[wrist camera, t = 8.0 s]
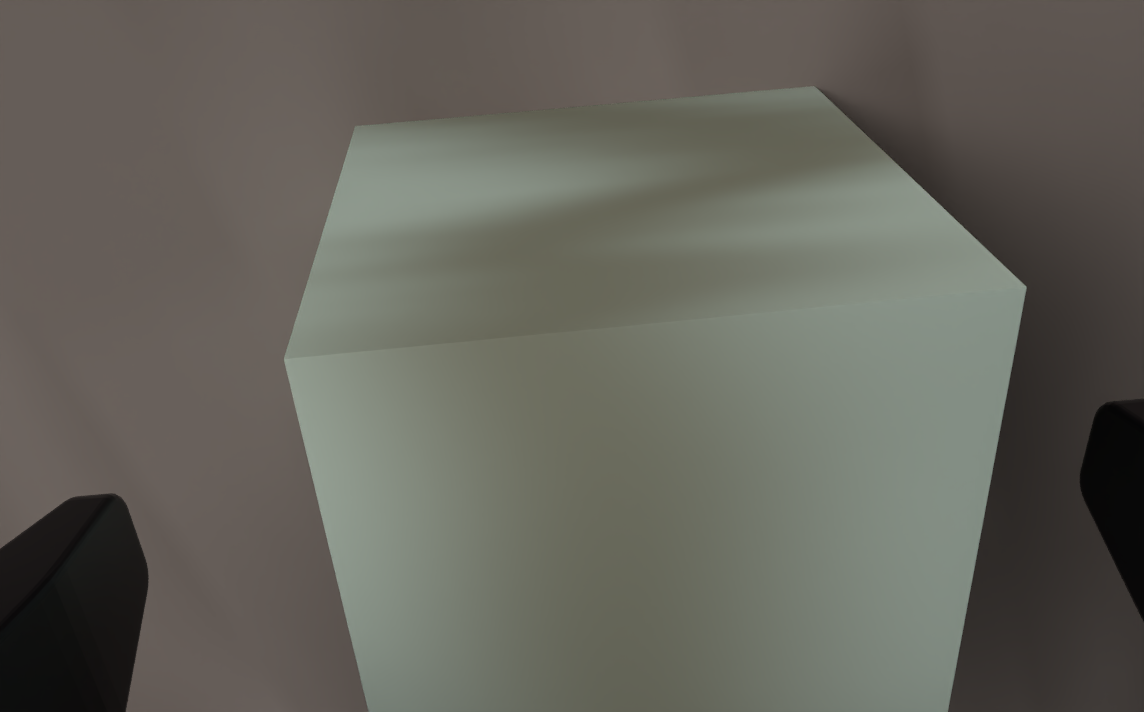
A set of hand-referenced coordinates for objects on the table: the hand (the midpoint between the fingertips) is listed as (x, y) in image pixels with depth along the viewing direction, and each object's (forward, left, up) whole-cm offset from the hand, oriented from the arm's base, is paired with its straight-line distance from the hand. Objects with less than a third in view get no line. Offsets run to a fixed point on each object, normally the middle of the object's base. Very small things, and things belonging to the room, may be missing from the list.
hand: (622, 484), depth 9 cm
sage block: (0, 0, -4) cm, 4 cm away
